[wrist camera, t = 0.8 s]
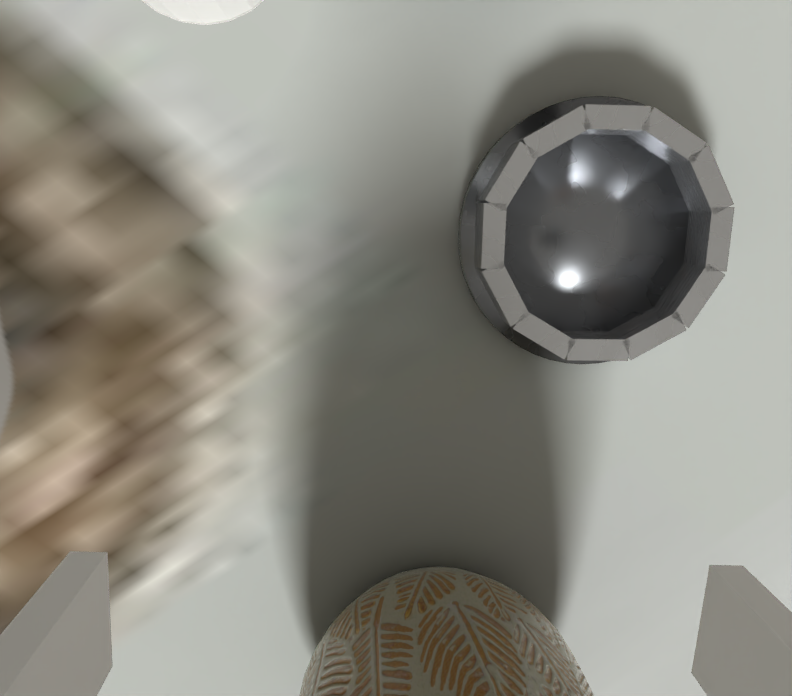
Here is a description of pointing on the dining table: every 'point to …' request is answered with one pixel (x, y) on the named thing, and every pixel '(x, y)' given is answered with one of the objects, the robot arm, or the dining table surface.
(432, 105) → the dining table surface
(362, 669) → the vase
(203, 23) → the mug
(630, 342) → the ring
